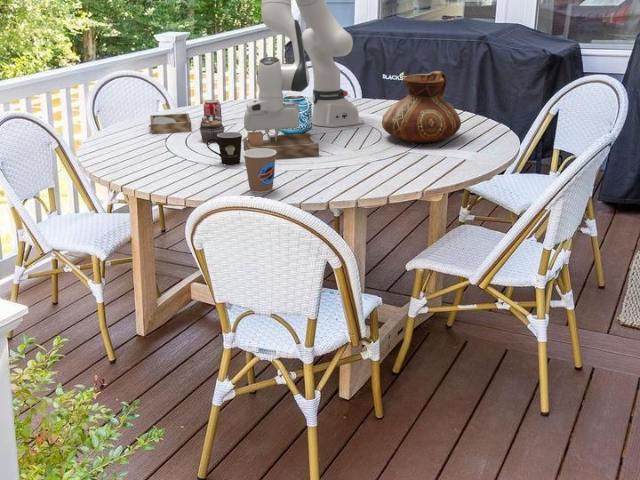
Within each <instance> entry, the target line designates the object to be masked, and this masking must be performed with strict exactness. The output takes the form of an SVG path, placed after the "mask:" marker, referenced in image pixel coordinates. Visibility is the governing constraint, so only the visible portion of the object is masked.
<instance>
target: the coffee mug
mask: <svg viewBox="0 0 640 480" xmlns="http://www.w3.org/2000/svg"><path fill="white" fill-rule="evenodd" d="M217 138H218V140H215V139H210V140H208V141H207V143H206V147H207V148H208V149H209V151H211V152H212V153H214V154H216V155H218V156H219V158H220V161H221V165H224V164H225V165H224V166H234V165H236V164H237V165H239V164H241V156H242V154H241V153H242V143H243V142H242V140H243V133H241V132H237V131H226V132H225V131H224V133H220V134H218V135H217ZM210 141H215V142H216V143H215V144H217V146H218V149H219V152H217V151H215V150H213V149H212V148H211V147H210V146H209V144H210V143H209V142H210ZM237 165H236V166H237Z"/></svg>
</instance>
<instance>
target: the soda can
mask: <svg viewBox="0 0 640 480" xmlns="http://www.w3.org/2000/svg"><path fill="white" fill-rule="evenodd" d="M221 105H222V104H221V103H220V100H219V99H206V100H205V101H204V103H203V117H204V116H207V115H210V114H212V115H213V116H215V115H218V116H219V117H221V119H220V121H221V122H222V123H223V121H222V120H223V119H222V117H223V116H222V106H221Z"/></svg>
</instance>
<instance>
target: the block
mask: <svg viewBox="0 0 640 480" xmlns="http://www.w3.org/2000/svg"><path fill="white" fill-rule="evenodd" d="M247 140H248V142H249V144H250V146H258V145H263V140H264V133H263V132H262V130H257V131H247Z"/></svg>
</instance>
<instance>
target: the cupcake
mask: <svg viewBox="0 0 640 480" xmlns="http://www.w3.org/2000/svg"><path fill="white" fill-rule="evenodd" d="M220 119H221V117H219V116H218V115H215V116H213V115H212V114H210V115H207V116H204V115H203V116H202V117H201V122H200V123H199V124H200V125H199V132H200V136H201V140H202V142H203V143H206V142H207V141H208V140H210V139H215V140H218V138H217V135H218V134H220V133H224V132H225V126H224V125H223V121H222V122H221V121H220ZM214 143H215V141H210V142H209V143H208V144H214ZM215 144H216V143H215Z"/></svg>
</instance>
